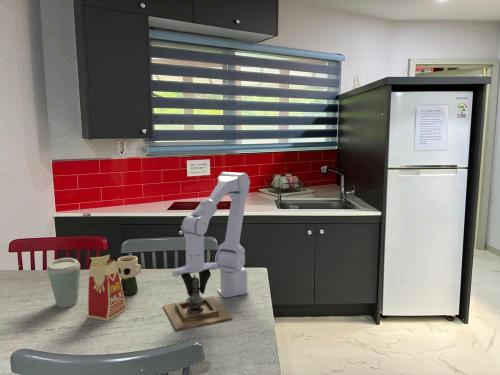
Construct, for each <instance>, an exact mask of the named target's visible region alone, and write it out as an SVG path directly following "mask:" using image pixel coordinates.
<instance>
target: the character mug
mask: <svg viewBox="0 0 500 375" xmlns="http://www.w3.org/2000/svg"><path fill="white" fill-rule="evenodd" d="M138 261H139V260H138V257H137V255H125V256H120V257H119V258H117V261H115V262H116V265H117V269H118V273H119V277H120V281H121V285H122V289H123V293H124V296H127V295H129V296H130V295H134V294H135V293H137V292H138V291H139V288H138V283H137V282H138V281H137V276H138V275H139V274H141V273H142V266H141V264H139V262H138Z"/></svg>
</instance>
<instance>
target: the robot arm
mask: <svg viewBox="0 0 500 375" xmlns="http://www.w3.org/2000/svg"><path fill="white" fill-rule="evenodd" d="M250 184H251V180H250V177H249V175H248V174H247V173H246V172H230V171H228V172H227V171H222V172H221V173H220V174H219V176H218V177H217V185H215V187H214V189H213V190H212V192H211V194H210V195H209V197H208V199H207V198H206V199H202V200H201V201H200V203H199V204H198V206H197V207H195V209H194V211H193V212H192V213H191V214H190V215H187V216H185V217H184V219H183V220H182V223H181V225H180V229H181V231H182V233H183V238H184V239H185V259H186V260H185V261H186V264H185V265H183V266H181V267H177V268H173V269H172V276H173V277H174V278H176V277H179V276H180V277H181V278H182V281H183V283H184V285H185V288H186V292H187V295H188V296H189V297H190V296H192V279H193V276H192V275H191V274H195V273H198V279H199V287H200V290H199V291H200V294H203V295H204V294H205V290H206V286H207V284H208V282H209V279H210V278H211V275H212V274H211V271H213V270H214V271H215V270H219V272H220V280H219V281H220V288H216V291H217V292H218V293H219V294H220V295H221V296H222V297H223V299H224V298H230V297H236V296H242V295H247V294H249V292H248V272H247V270H246V268H245V267H244V266H245V264H246V254H245V253H246V249H245V248H244V247H243V246H242V245H241V243H240V241H241V234H242V226H243V221H244V220H243V219H244V213H245V207H246V206H245V205H246V199H247V197H248V196H249V191H250V186H251V185H250ZM226 195H228V197H230V205H229V206H230V207H229V212H228V220H227V224H226V233H225V238H224V239H225V240H224V241H223V242H222V243H221V244H219V245H218V249H217V252H216V253H215V256H214V257H215V258H214V262H205V236H204V235H205V234H206V233H207V231H208V229H209V228H208V227H209V224H210V220H211V219H212V217H213V216H214V215H215V214H216V213H217V210H218V207H217V205H218V204H219V203H220V202H221V201H222V199H223V198H224V197H225V196H226Z"/></svg>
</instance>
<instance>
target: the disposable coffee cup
mask: <svg viewBox="0 0 500 375" xmlns="http://www.w3.org/2000/svg"><path fill="white" fill-rule="evenodd" d="M80 271H81V263H80V262H79V261H78V259H76V258H72V257H62V258H58V259H53V260H52V261H50V262H48V264H47V266H46V273H47V274H48V278H49V281H50V285H51V289H52V293H53V296H54V299H55V300H54V301H55V304H56V305H57V307H58V308H70V307H72V306H74V305H76V304H77V303H78V300H79V290H80V289H79V288H80V275H81V273H80Z"/></svg>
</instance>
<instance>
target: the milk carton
mask: <svg viewBox="0 0 500 375" xmlns="http://www.w3.org/2000/svg"><path fill="white" fill-rule="evenodd" d="M110 256H111V254H107V255H104V256H96V257H89V259H90V260H91V263H90V266H89V271H88V273H89V275H88V288H87V289H88V290H87V295H88V297H87V314H88V315H87V317H88V318H89V319H98V320H101V321H105V322H109V321H110V320H112V319H113V318H115V317H117V316H118V315H120V314H121V313H124V312H125V311H126V310H127V305H126V300H125V293H124V292H123V289H122V285H121V277H119V273H118V269H117V265H116V262H117V261H116V260H115V259H112V258H110Z"/></svg>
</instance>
